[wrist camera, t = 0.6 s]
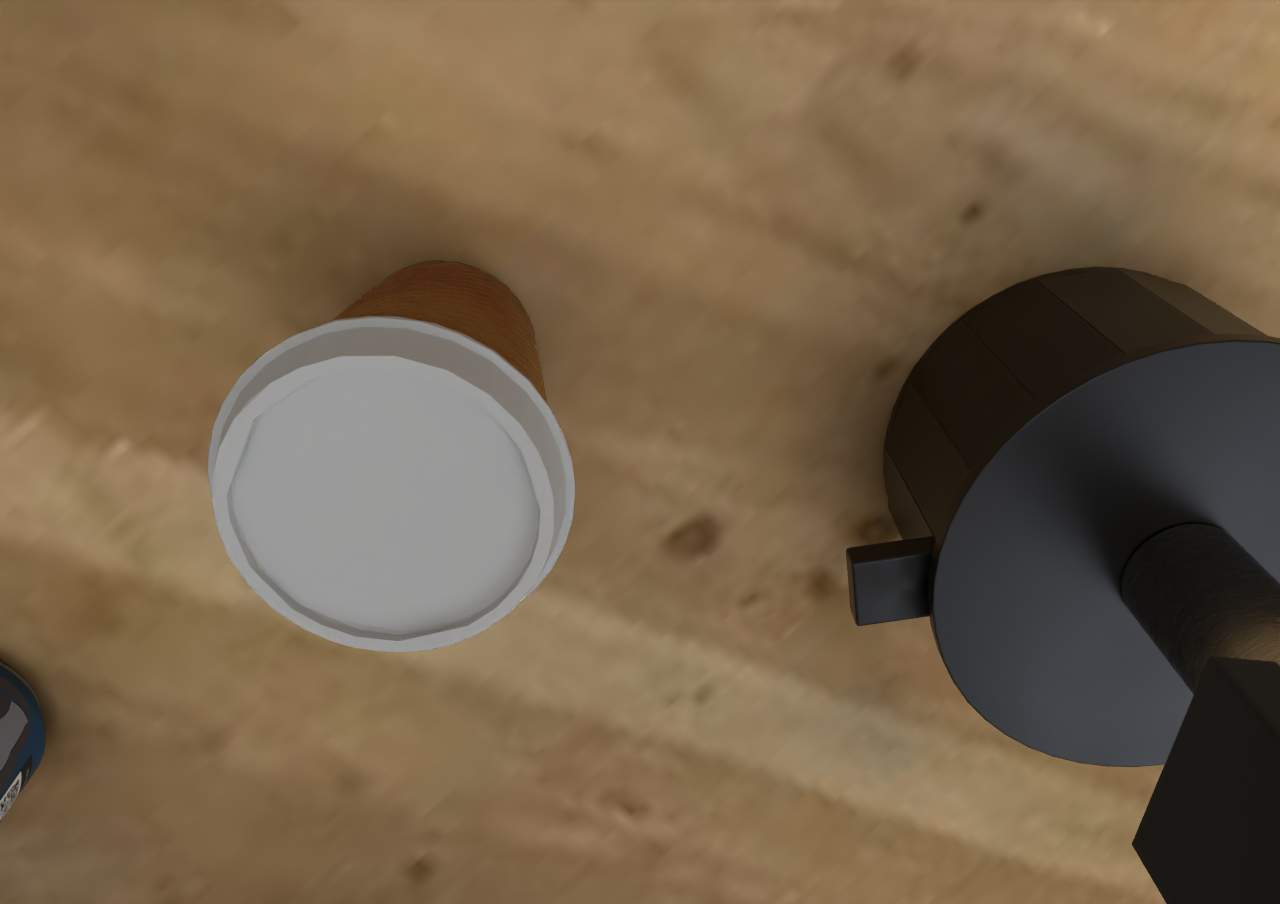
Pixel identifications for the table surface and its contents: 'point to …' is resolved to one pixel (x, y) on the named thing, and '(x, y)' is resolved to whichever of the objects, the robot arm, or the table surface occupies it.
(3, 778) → the soda can
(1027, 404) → the pot
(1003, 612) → the lid
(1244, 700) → the robot arm
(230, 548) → the disposable coffee cup
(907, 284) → the table surface
